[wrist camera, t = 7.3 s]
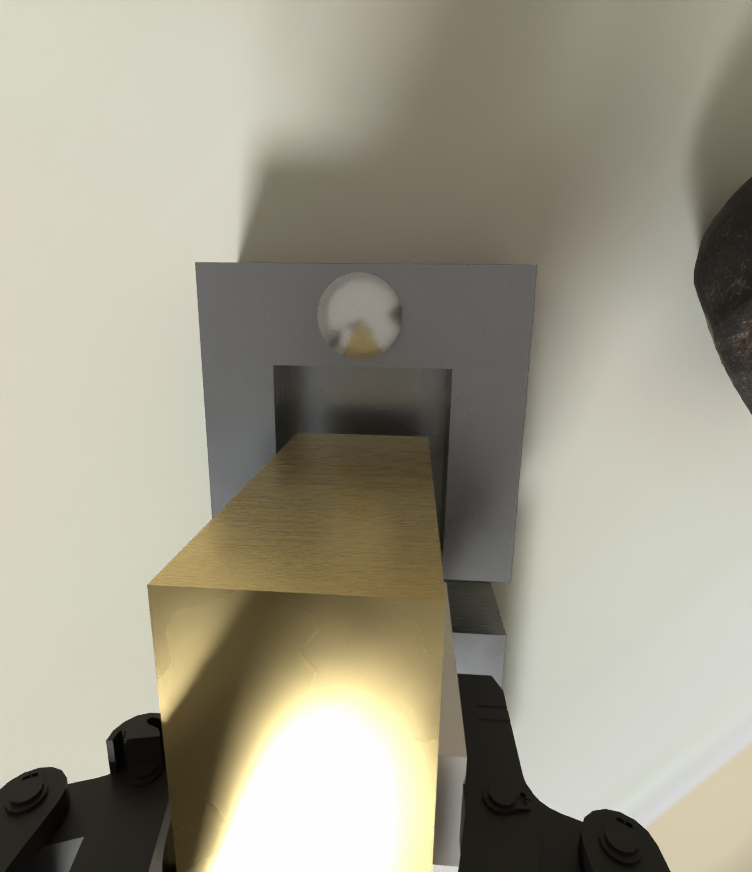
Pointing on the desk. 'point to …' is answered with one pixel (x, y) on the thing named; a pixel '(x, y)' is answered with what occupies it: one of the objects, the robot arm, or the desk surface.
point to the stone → (729, 287)
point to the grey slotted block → (383, 394)
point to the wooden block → (307, 665)
